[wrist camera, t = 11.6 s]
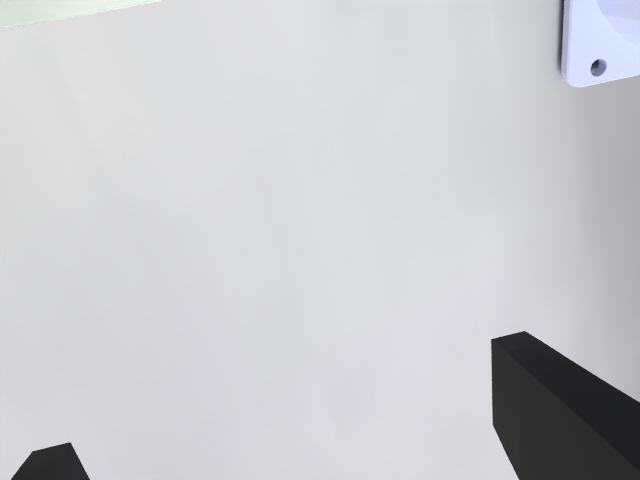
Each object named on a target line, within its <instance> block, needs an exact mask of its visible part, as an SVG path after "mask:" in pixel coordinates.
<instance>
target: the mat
mask: <svg viewBox="0 0 640 480" xmlns="http://www.w3.org/2000/svg"><path fill="white" fill-rule="evenodd" d="M158 1H163V0H0V31H2V30H7V29H12V28H18V27H23V26H29V25H34V24H39V23H45V22H50V21H56V20H61V19H66V18H72V17H77V16H83V15H88V14H93V13H99V12H104V11H109V10H115V9H120V8H126V7H131V6H136V5H142V4H147V3H153V2H158Z"/></svg>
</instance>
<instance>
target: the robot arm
mask: <svg viewBox="0 0 640 480" xmlns="http://www.w3.org/2000/svg"><path fill="white" fill-rule="evenodd" d="M597 59H598V61H599V65H598V68H597V70H596V71H595V72H594V73H592V74H591V71H590V69H591V65H592V64H593V62H594V61H595V60H597ZM561 74H562V79H563V80H564V82H565V83H567V84H569V85H571V86H574V87H584V86H589V85H593V84H598V83H603V82H608V81H612V80H617V79H622V78H627V77H631V76H636V75H640V0H564V20H563V43H562V65H561ZM491 349H492V407H493V426H494V428H495V430H496V433H497V435H498V437H499V439H500V441H501V443H502V445H503V448H504V450H505V452H506V454H507V456H508V458H509V460H510V462H511V464H512V466H513V468H514V470H515V472H516V474H517V476H518V478H519V480H640V402H638V401H636V400H635V399H633V398H631V397H630V396H628V395H626V394H625V393H623V392H621V391H620V390H618V389H616V388H615V387H613V386H611V385H610V384H608V383H607V382H605V381H603V380H602V379H600V378H598V377H597V376H595V375H594V374H592V373H590V372H589V371H587V370H586V369H584V368H582V367H581V366H579V365H578V364H576V363H575V362H573V361H571V360H570V359H568V358H567V357H565V356H564V355H562V354H560V353H559V352H557V351H556V350H554V349H553V348H551V347H549V346H548V345H546V344H545V343H543V342H542V341H540V340H538V339H537V338H535V337H534V336H532V335H530V334H529V333H527V332H525V331H523V332H519V333H515V334H511V335H507V336H503V337H499V338H495V339H491ZM11 480H90V479H89V477H88V475H87V473H86V471H85V470H84V468H83V466H82V464H81V462H80V460H79V458H78V456H77V454H76V452H75V450H74V448H73V446H72V444H71V443H70V442H69V443H65V444H61V445H57V446H53V447H49V448H45V449H41V450H37V451H33V452H32V453H31V454H30V455H29V457H28V458H27V459H26V461H25V462H24V463H23V464H22V466H21V467H20V468H19V470H18V471H17V472H16V474H15V475H14V476H13V478H12V479H11Z"/></svg>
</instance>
